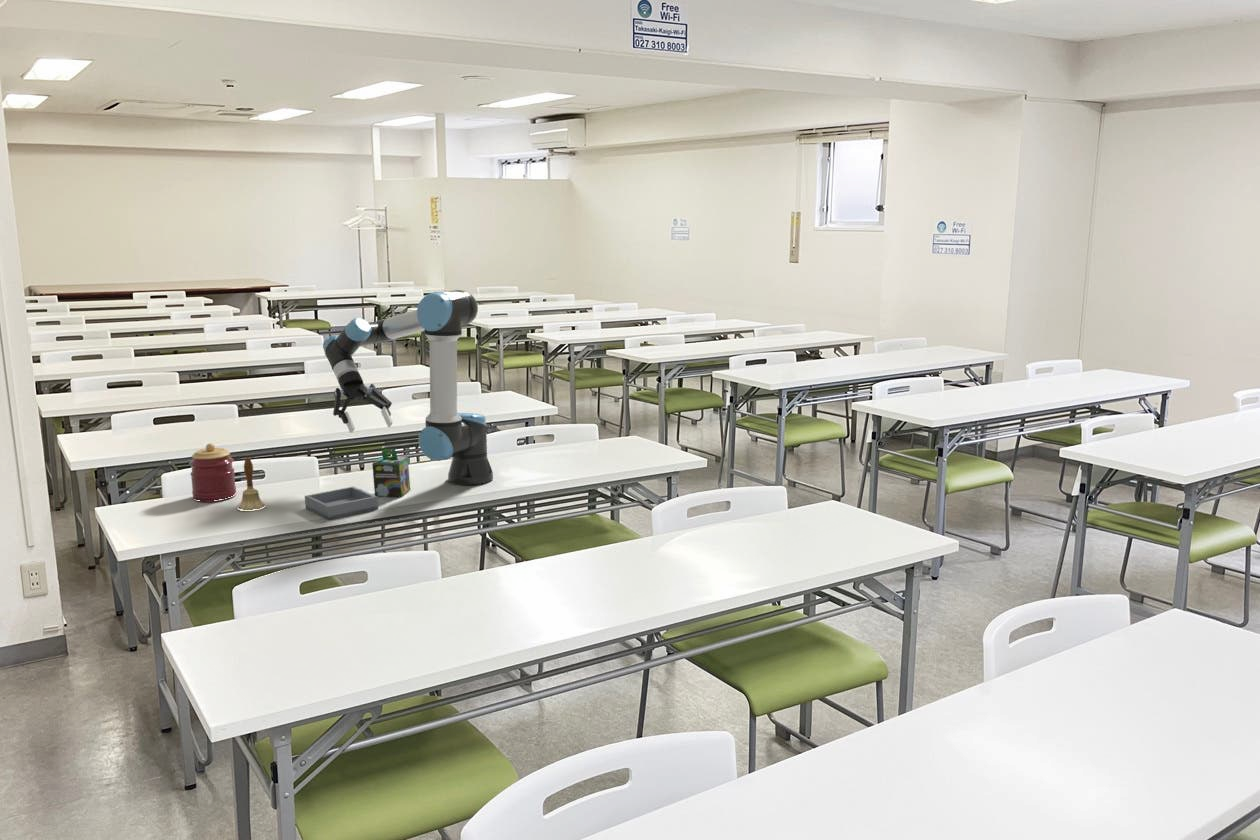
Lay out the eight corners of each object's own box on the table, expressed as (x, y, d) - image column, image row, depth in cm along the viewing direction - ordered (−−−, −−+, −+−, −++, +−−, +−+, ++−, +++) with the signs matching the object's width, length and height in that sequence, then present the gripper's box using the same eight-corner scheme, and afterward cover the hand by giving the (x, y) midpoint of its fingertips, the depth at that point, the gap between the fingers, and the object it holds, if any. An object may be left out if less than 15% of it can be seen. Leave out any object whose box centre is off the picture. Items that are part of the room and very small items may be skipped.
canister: (224, 503, 304) (220, 448, 300) (184, 502, 304) (179, 448, 301) (243, 492, 316) (239, 439, 313) (205, 491, 317) (200, 438, 314)
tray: (353, 498, 308) (353, 486, 307) (378, 509, 297) (377, 496, 296) (305, 508, 298) (304, 495, 297) (328, 519, 286) (327, 506, 285)
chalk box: (410, 490, 318) (408, 446, 315) (401, 497, 309) (399, 452, 306) (383, 489, 319) (381, 445, 316) (373, 497, 310) (371, 452, 307)
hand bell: (271, 506, 301) (267, 456, 297) (251, 513, 293) (246, 462, 290) (251, 503, 304) (247, 453, 301) (231, 509, 297) (226, 459, 293)
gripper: (378, 379, 336) (402, 428, 329) (309, 387, 320) (332, 439, 312) (385, 366, 332) (409, 416, 324) (316, 373, 315) (339, 426, 307)
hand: (371, 427), depth 318 cm, fingers open, 13 cm apart
